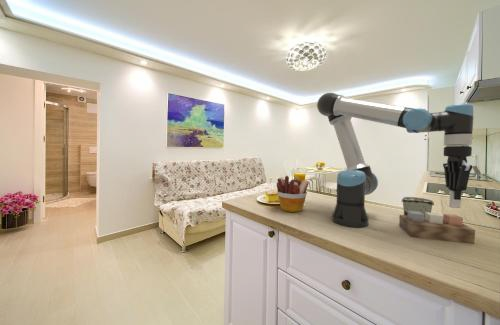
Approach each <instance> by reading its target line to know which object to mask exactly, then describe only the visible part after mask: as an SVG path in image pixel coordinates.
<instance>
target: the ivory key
mask: <svg viewBox="0 0 500 325" xmlns="http://www.w3.org/2000/svg"><path fill="white" fill-rule="evenodd" d="M425 221H427V222H428V223H436V224H443V214H442V215H441V214H440V213H438V212H431V213H430V212H425Z"/></svg>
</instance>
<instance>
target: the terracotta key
mask: <svg viewBox="0 0 500 325" xmlns="http://www.w3.org/2000/svg"><path fill="white" fill-rule="evenodd" d="M442 216H443V222H444V223H446V224H448V225H458V226H462V224H464V223H463V222H464V218H463V217H462V216H460V215H458V214H455V213H454V214H453V213H452V214H451V213H443V214H442Z"/></svg>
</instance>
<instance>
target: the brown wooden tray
mask: <svg viewBox="0 0 500 325" xmlns="http://www.w3.org/2000/svg"><path fill="white" fill-rule="evenodd" d="M398 226H399V227H400V229H402V230H403V231H404V232H405V233H406V234H407V235H408V236H410V237H412V238H419V239H428V240H436V241H437V240H438V241H439V240H440V241H446V242H447V241H448V242H456V243H466V244H475V241H476V240H475V238H476V237H475V236H476V229H474V228H473V227H470V226H468V225H466V224H464V223H463V224H462V226H458V225H448V224H446V223H444V222H443V224H436V223H428V222H427V221H425V217H424V222H413V221H410V220H408V215H404V214H399V223H398Z"/></svg>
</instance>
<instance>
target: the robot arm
mask: <svg viewBox="0 0 500 325" xmlns="http://www.w3.org/2000/svg"><path fill="white" fill-rule="evenodd" d="M316 108H317V111H318V113H319V114H321V115H322V116H324V117H327V119H328V121H329V124H330V125H331V126H333V128H334V131H335V135H336V138H337V140H338V144H339V146H340V149H341V152H342V153H341V154H342V155H343V159H344V162H345V166H346V169H345V170H342V171H339V172H338V173H337V176H336V204H335V207H334V209H333V211H332V215H331V220H332V222H334V223H335V224H338V225H339V226H345V227H348V228H349V227H351V228H364V227H367V226H368V225H369V217H368V214H367V211H366V207H365V200H366V198H365V197H366V196H367V195H370V194H372V193H374V192H375V191H376V189H377V188H378V186H379V180H378V177H377V176H376V175H375V173H374V172H372V168H371V166H370V165H369V164H368V163H366V161H365V158H364V155H363V152H362V151H361V146H360V144H359V140H358V139H357V135H356V132H355V130H354V126H353V123H352V121H351V120H352V118H356V119H359V120H364V121H369V122H374V123H379V124H385V125H389V126H394V127H399V128H402V129H403V128H404V129H406V132H407V133H409V134H412V133H413V134H414V133H415V134H420V133H431V132H444V133H443V134H444V135H443V145H444V147H443V156H444V157H447V159H446V161H447V162H446V163H444V162H443V164H442V167H443V170H444V180H445V181H444V182H445V188H448V190H449V200H448V201H449V202H448V204H449V206H448V207H449V208H453V209H461V208H462V207H461V204H462V192H463V191H467V188H468V182H469V179H470V174H471V171H472V169H473V165H472V164H468V159H467V158H468V157H471V156H472V153H473V152H472V151H473V150H472V144H473V139H474V138H473V126H474V105H473V104H472V103H456V104H450V105H447V106H446V107H445V109H444V111H439V112H429V110H427V109H425V108H421V107H417V108H413V107H407V106H399V105H394V104H393V105H392V104H388V103H379V102H372V101H368V100H367V101H366V100H360V99H353V98H347V97H345V96H344V95H342V94H337V93H334V92H326V93H324V94H322V95H321V96H320V97H319V98H318V100H317V103H316Z"/></svg>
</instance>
